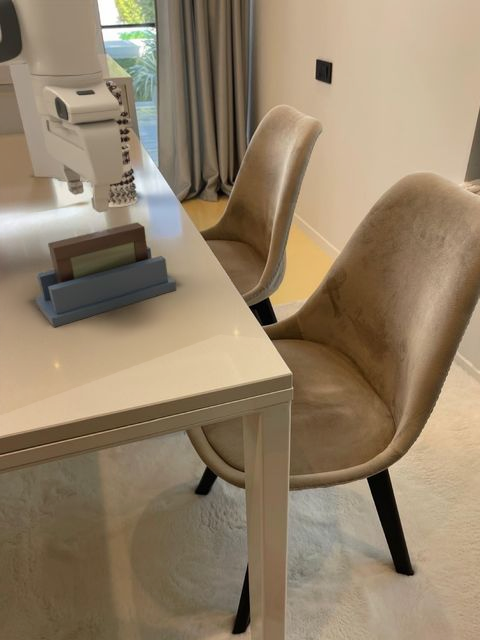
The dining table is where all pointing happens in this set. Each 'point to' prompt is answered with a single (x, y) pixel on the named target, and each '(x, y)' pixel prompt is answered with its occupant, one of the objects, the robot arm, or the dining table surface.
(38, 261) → the dining table surface
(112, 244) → the frame
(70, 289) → the holder
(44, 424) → the dining table surface
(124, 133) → the decorative candle
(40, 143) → the white tall rectangular block
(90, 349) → the dining table surface
